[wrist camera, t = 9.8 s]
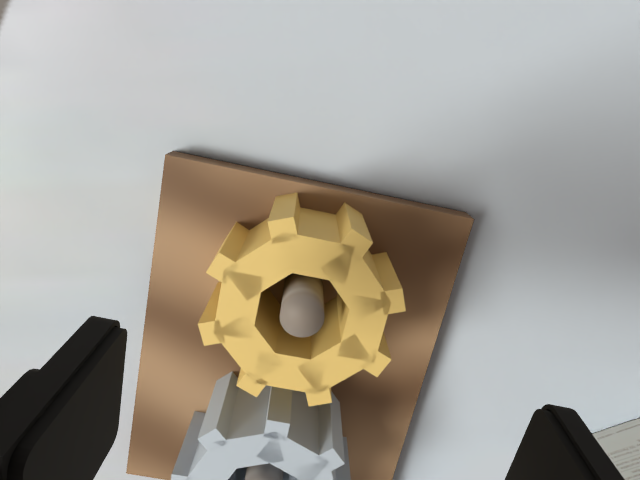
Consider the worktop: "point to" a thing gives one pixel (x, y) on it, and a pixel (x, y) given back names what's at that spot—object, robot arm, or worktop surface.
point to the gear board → (191, 289)
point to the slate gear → (263, 436)
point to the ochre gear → (264, 310)
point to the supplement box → (623, 447)
